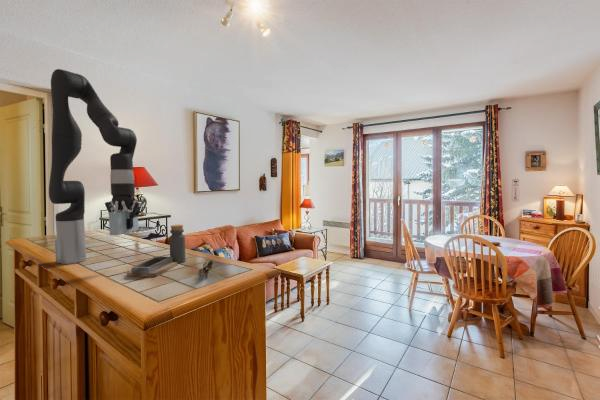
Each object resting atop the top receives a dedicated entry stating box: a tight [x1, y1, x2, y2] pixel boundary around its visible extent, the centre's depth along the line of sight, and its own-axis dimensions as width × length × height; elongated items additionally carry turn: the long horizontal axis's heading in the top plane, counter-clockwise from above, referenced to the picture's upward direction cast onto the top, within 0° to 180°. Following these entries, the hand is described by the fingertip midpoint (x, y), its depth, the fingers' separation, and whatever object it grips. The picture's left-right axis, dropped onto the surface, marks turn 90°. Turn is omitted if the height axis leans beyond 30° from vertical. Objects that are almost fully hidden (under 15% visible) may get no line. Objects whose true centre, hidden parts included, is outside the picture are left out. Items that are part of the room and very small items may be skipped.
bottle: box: [169, 224, 187, 265], centre depth 122 cm, size 6×6×15 cm
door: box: [108, 211, 139, 236], centre depth 111 cm, size 3×11×8 cm, turn 173°
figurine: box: [200, 259, 214, 280], centre depth 106 cm, size 6×4×15 cm
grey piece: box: [126, 255, 178, 278], centre depth 111 cm, size 11×15×3 cm
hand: (124, 228), depth 111 cm, fingers closed on door, 3 cm apart
